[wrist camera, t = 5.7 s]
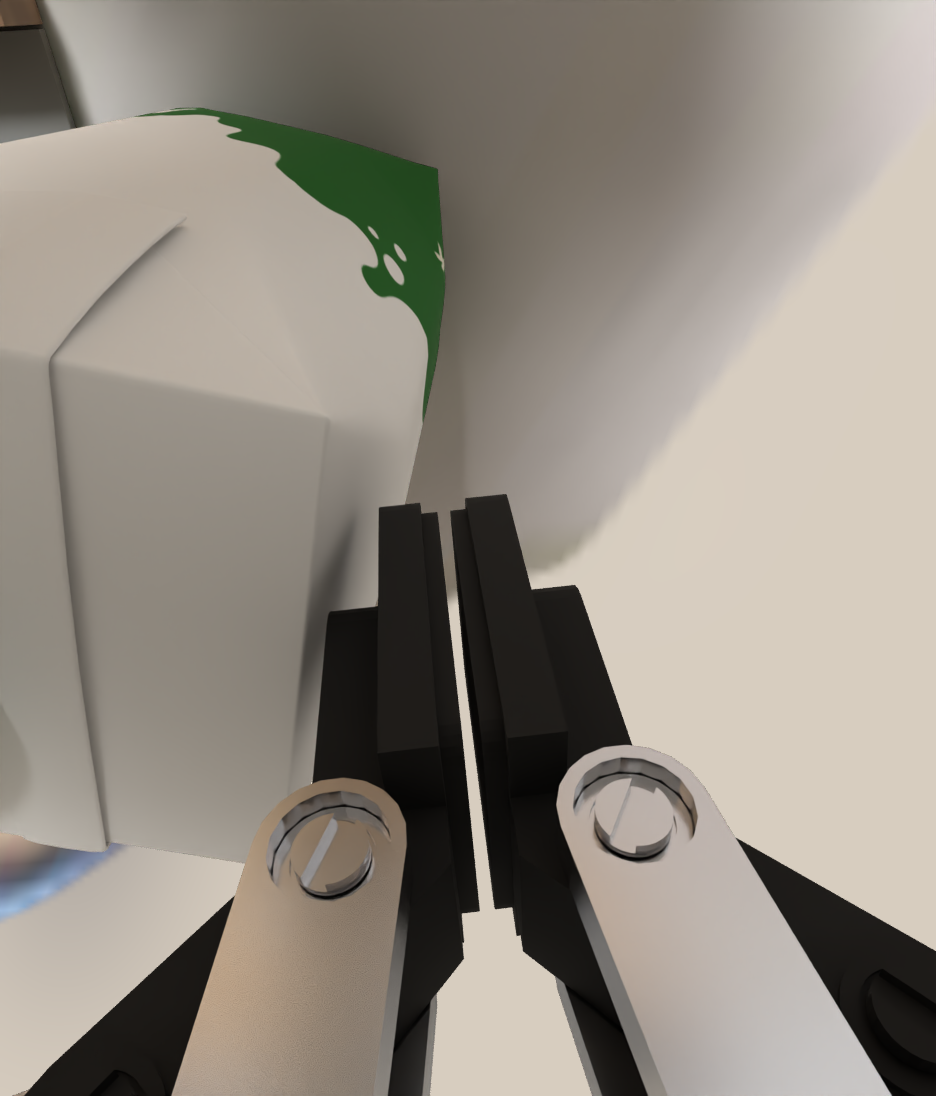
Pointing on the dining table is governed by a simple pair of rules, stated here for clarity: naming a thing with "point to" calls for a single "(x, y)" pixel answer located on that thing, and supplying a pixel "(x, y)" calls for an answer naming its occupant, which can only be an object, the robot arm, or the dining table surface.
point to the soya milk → (194, 459)
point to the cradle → (28, 77)
